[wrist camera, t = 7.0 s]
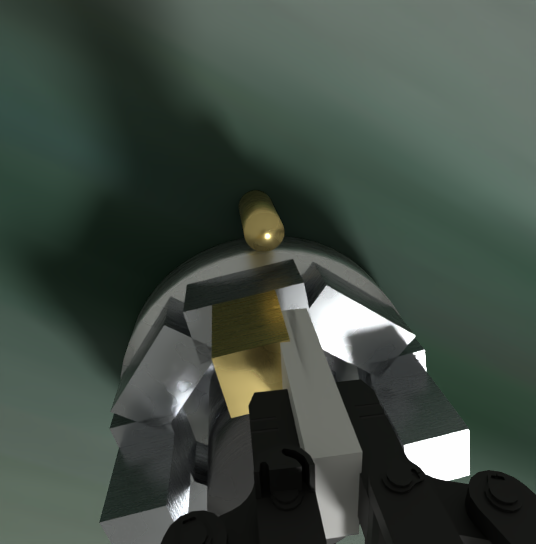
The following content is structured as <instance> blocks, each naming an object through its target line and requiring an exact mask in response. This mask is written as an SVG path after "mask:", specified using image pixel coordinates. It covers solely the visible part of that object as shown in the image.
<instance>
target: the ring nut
mask: <svg viewBox="0 0 536 544" xmlns="http://www.w3.org/2000/svg"><path fill="white" fill-rule="evenodd" d="M302 308H307V311H308V313H309V316H310V318H311V321H312V323H313V326H314V329H315V331H316V334H317V336H318V339H319V341H320V344H321V347H322V349H323V350H325V351H327V352H329V353H331V354H333V355H335V356H337V357H339V358H341V359H343V360H345V361H347V362H348V363H350V364H352V365H354V366H356V367H357V369H358V376H359V379H361V380H362V381H364V382H365V383H366V384H367V385H368V386H369V387H371V388H372V389H373V390H374V392H375V394H376V396H377V398H378V400H379V402H380V405H381V406H382V408H383V410H384V412H385V416H387V418H388V420H389V422H390V424H391V426H392V428H393V430H394V432H395V434H396V436H397V438H398V440H399V442H400V444H401V446H402V448H403V450H404V452H405V454H406V456H407V457H408V459H409V460H410V461H412V462H413V463H415V464H416V465H418V466H419V467H420V468H421V469H422V470H423V471H424V473H425V474H427V475H429V476H431V477H434V478H437V479H441V480H445V481H448V480H452V479H456V478H460V477H464V476H468V475H470V456H469V428H468V427H467V425H466V424H465V423H464V421H463V420H462V419H461V417H460V416H459V415H458V413H457V412H456V410H455V409H454V408H453V406H452V405H451V404H450V402H449V401H448V400H447V398H446V397H445V396H444V394H443V393H442V392H441V390H440V389H439V388H438V386H437V385H436V384H435V382H434V381H433V379H432V378H431V377H430V375H429V374H428V373H427V371H426V362H425V350H424V349H423V347H422V346H421V345H420V343H419V342H418V341H417V340H416V338H415V334H414V333H413V332H412V331H411V329H410V328H409V327H408V326H407V324H406V323H405V322H404V321H403V320H402V318H401V317H400V316H399V315H398V313H397V312H396V311H395V310H394V308H393V307H391V306H389V305H387V304H386V303H384V302H382V301H381V300H379V299H377V298H375V297H374V296H372V295H370V294H368V293H367V292H365V291H363V290H362V289H360V288H358V287H356V286H355V285H353V284H351V283H350V282H348V281H346V280H344V279H343V278H341V277H339V276H338V275H336V274H334V273H332V272H331V271H329V270H327V269H326V268H324V267H322V266H320V265H319V264H317V263H315V262H312V263H311V265H310V266H309V268H308V269H307V270H306V272H305V273H304V275H303V276H302V277H301V275H300V273H299V271H298V269H297V266H296V264H295V262H294V260H293V259H289V260H285V261H281V262H277V263H273V264H269V265H265V266H261V267H256V268H252V269H248V270H244V271H240V272H236V273H232V274H228V275H224V276H220V277H215V278H211V279H207V280H203V281H199V282H195V283H191V284H187V287H186V294H185V301H184V302H182V301H180V300H177V299H175V298H173V297H171V296H170V297H169V299H168V301H167V302H166V304H165V306H164V307H163V309H162V310H161V312H160V314H159V315H158V317H157V319H156V320H155V322H154V324H153V325H152V327H151V328H150V330H149V332H148V333H147V335H146V337H145V338H144V340H143V342H142V343H141V345H140V347H139V348H138V350H137V351H136V353H135V355H134V356H133V358H132V360H131V361H130V363H129V365H128V366H127V368H126V369H125V371H124V373H123V374H122V377H121V380H120V383H119V387H118V390H117V393H116V396H115V399H114V402H113V405H112V408H111V412H112V413H114V416H113V419H112V423H111V426H110V430H111V432H112V434H113V436H114V438H115V440H116V442H117V444H118V446H119V450H118V454H117V458H116V462H115V465H114V469H113V473H112V477H111V481H110V484H109V488H108V492H107V496H106V500H105V503H104V507H103V511H102V515H101V519H100V522H99V523H100V524H101V526H102V528H103V530H104V531H105V533H106V535H107V536H108V538H109V540H110V541H111V543H112V544H161V542H162V539H163V537H164V535H165V533H166V532H167V530H168V528H169V526H170V525H171V524H172V523H173V522H174V521H176V520H177V519H178V518H179V517H180V516H182V515H184V514H187V513H189V512H191V511H200V510H205V511H207V476H208V445H206V444H203V443H200V442H198V441H196V439H195V436H194V433H193V431H192V428H191V426H190V423H189V421H188V418H187V415H186V413H185V410H184V408H183V404H184V403H185V402H186V400H187V399H188V397H189V396H190V394H191V393H192V391H193V390H194V388H195V387H196V385H197V384H198V383H199V381H200V380H201V378H202V377H203V375H204V374H205V372H206V371H207V369H208V368H209V367H210V365H211V364H212V362H213V365H214V368H215V371H216V374H217V377H218V380H219V383H220V386H221V389H222V392H223V395H224V398H225V401H226V404H227V407H228V410H229V413H230V416H231V418H234V417H238V416H242V415H246V414H249V407H248V405H249V403H250V401H251V399H252V396H253V394H254V393H255V392H264V391H273V390H281V389H283V388H282V369H281V349H280V343H281V342H290V338H289V335H288V332H287V328H286V325H285V322H284V318H283V315H282V312H281V311H283V310H292V309H302ZM335 544H336V543H335Z"/></svg>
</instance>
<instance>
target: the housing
mask: <svg viewBox="0 0 536 544" xmlns="http://www.w3.org/2000/svg"><path fill="white" fill-rule="evenodd" d="M289 259H293V260H294V262H295V264H296V266H297V269H298V271H299V273H300V275H301V277H302V276H303V275H304V273H305V272H306V270H307V269H308V268H309V266H310V265H311V263H312V262H315V263H317V264H319V265H320V266H322V267H324V268H326V269H327V270H329V271H331V272H332V273H334V274H336V275H338V276H339V277H341V278H343V279H344V280H346V281H348V282H350V283H351V284H353V285H355V286H356V287H358V288H360V289H362V290H363V291H365V292H367V293H368V294H370V295H372V296H374V297H375V298H377V299H379V300H381V301H382V302H384V303H386V304H387V305H389V306H391V307H393V308H394V310H395V311H396V312H397V313H398V311H397V310H396V308H395V307H394V306H393V304H392V303H391V302H390V300H389V299H388V298H387V296H386V295H385V294H384V293H383V291H382V290H381V289H380V288H379V287H378V285H377V284H376V283H375V282H374V280H373V279H372V278H371V277H370V276H369V275H368V274H367V273H366V272H365V271H364V270H363V269H362V268H361V267H360V266H359V265H358V264H356V263H355V262H354V261H352V260H351V259H350V258H348V257H347V256H345V255H343V254H342V253H340V252H338V251H336V250H334V249H332V248H330V247H327V246H325V245H322V244H319V243H317V242H314V241H310V240H305V239H301V238H297V237H287V236H284V237H283V240H282V242H281V243H280V244H279V246H278V247H276V248H275V249H273V250H271V251H267V252H260V251H256V250H254V249H252V248H251V247H250V246H249V245H248V244H247V242H246V240H245V238H242V239H237V240H233V241H230V242H226V243H223V244H219V245H217V246H214V247H212V248H210V249H207V250H205V251H203V252H200V253H199V254H197V255H195V256H194V257H192V258H190V259H189V260H187V261H185V262H184V263H182V264H181V265H180V266H178V267H177V268H176V269H175V270H173V271H172V272H171V273H169V274H168V275H167V276H166V277H165V279H164V280H163V281H162V282H161V283H160V284H159V285H158V286H157V287H156V288H155V289H154V291H153V292H152V293H151V295H150V296H149V298H148V299H147V300H146V302H145V304H144V306H143V308H142V310H141V311H140V313H139V315H138V318H137V321H136V324H135V327H134V329H133V332H132V335H131V338H130V341H129V344H128V347H127V350H126V353H125V356H124V360H123V366H122V372H121V377H122V374H123V373H124V371H125V369H126V368H127V366H128V365H129V363H130V361H131V360H132V358H133V356H134V355H135V353H136V351H137V350H138V348H139V347H140V345H141V343H142V342H143V340H144V338H145V337H146V335H147V333H148V332H149V330H150V328H151V327H152V325H153V324H154V322H155V320H156V319H157V317H158V315H159V314H160V312H161V310H162V309H163V307H164V306H165V304H166V302H167V301H168V299H169V297H170V296H171V297H173V298H175V299H177V300H180V301H182V302H184V301H185V294H186V287H187V284H191V283H195V282H199V281H203V280H207V279H211V278H215V277H220V276H224V275H228V274H232V273H236V272H240V271H244V270H248V269H252V268H256V267H261V266H265V265H269V264H273V263H277V262H281V261H285V260H289ZM398 315H399V313H398ZM399 316H400V315H399ZM323 352H324V354H325V357H326V359H327V362H328V365H329V367H330V370H331V372H332V375H333V377H334V380H335V382H341V381H350V380H358V379H359V376H358V369H357V367H356V366H354V365H352V364H350V363H348V362H347V361H345V360H343V359H341V358H339V357H337V356H335V355H333V354H331V353H329V352H327V351H325V350H323ZM183 408H184V410H185V413H186V415H187V418H188V421H189V423H190V426H191V428H192V431H193V433H194V436H195V439H196V441H198V442H200V443H203V444H206V445H208V476H207V511H208V512H211V513H214V514H216V515H217V516H221V515H223V514H225V513H227V512H229V511H231V510H233V509H235V508H236V507H238V506H240V505H241V504H242V503H243V502H244V501H245V500H246V499H247V498H248V496H249V495H250V493H251V492H252V489H253V486H254V473H253V472H254V465H253V453H252V442H251V430H250V419H249V414H246V415H242V416H238V417H234V418H231V416H230V413H229V410H228V407H227V404H226V401H225V398H224V395H223V392H222V389H221V386H220V383H219V380H218V377H217V374H216V371H215V368H214V365H213V362H212V364H211V365H210V367H209V368H208V369H207V371H206V372H205V374H204V375H203V377H202V378H201V380H200V381H199V383H198V384H197V385H196V387H195V388H194V390H193V391H192V393H191V394H190V396H189V397H188V399H187V400H186V402H185V403H184V404H183ZM359 524H360V521H359ZM344 537H346V536H342V537H337V538H330V539H326V541H327V544H335V543H336V542H338V541H340V540H341V539H343V538H344Z"/></svg>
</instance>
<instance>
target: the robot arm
mask: <svg viewBox="0 0 536 544" xmlns="http://www.w3.org/2000/svg"><path fill="white" fill-rule="evenodd" d="M281 312H282V315H283V318H284V322H285V325H286V328H287V332H288V335H289V338H290V342H281V343H280V349H281V369H282V388H283V389H281V390H273V391H264V392H255V393H254V394H253V396H252V399H251V401H250V403H249V405H248V407H249V419H250V430H251V442H252V453H253V465H254V472H253V473H254V486H253V489H252V492H251V493H250V495H249V496H248V498H247V499H246V500H245V501H244V502H243V503H242V504H241V505H240V506H238V507H236V508H235V509H233V510H231V511H229V512H227V513H225V514H223V515H221V516H217V515H216V514H214V513H211V512H208V511H205V510H200V511H191V512H189V513H187V514H184V515H182V516H180V517H179V518H178V519H177V520H176V521H174V522H173V523H172V524H171V525H170V526H169V528H168V530H167V532H166V533H165V535H164V537H163V539H162V542H161V544H327V541H326V539H330V538H337V537H342V536H349V535H356V534H359V521H360V525H361V528H362V531H363V534H364V537H365V544H536V495H535V494H534V493H533V492H532V491H531V490H530V489H529V488H528V487H527V486H525V485H524V484H523V483H521V482H520V481H518V480H517V479H516V478H514V477H512V476H510V475H507V474H505V473H502V472H497V471H490V470H487V471H482V472H478V473H476V474H475V475H474V476H473V477H471V479H470V482H469V484H464V483H458V482H451V481H445V480H441V479H437V478H434V477H431V476H429V475H427V474H425V473H424V471H423V470H422V469H421V468H420V467H419V466H418V465H416V464H415V463H413V462H412V461H410V460H409V459H408V457H407V456H406V454H405V452H404V450H403V448H402V446H401V444H400V442H399V440H398V438H397V436H396V434H395V432H394V430H393V428H392V426H391V424H390V422H389V420H388V418H387V416H385V412H384V410H383V408H382V406H381V405H380V402H379V400H378V398H377V396H376V394H375V392H374V390H373V389H372V388H371V387H369V386H368V385H367V384H366V383H365V382H364V381H362V380H361V379H358V380H350V381H341V382H335V380H334V377H333V375H332V372H331V370H330V367H329V365H328V362H327V359H326V357H325V354H324V352H323V349H322V347H321V344H320V341H319V339H318V336H317V334H316V331H315V329H314V326H313V323H312V321H311V318H310V316H309V313H308V311H307V308H302V309H292V310H283V311H281Z"/></svg>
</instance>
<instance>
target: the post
mask: <svg viewBox="0 0 536 544" xmlns="http://www.w3.org/2000/svg"><path fill="white" fill-rule="evenodd" d="M239 212H240V217H241V222H242V227H243V232H244V237H245V240H246V242H247V244H248V245H249V246H250V247H251V248H252V249H254V250H256V251H260V252H267V251H271V250H273V249H275V248H276V247H278V246H279V244H280V243H281V242H282V240H283V237H284V227H283V224H282V222H281V220H280V218H279V216H278V214H277V212H276V210H275V208H274V206H273V204H272V202H271V200H270V198H269V196H268V195H267V194H266V193H264V192H262V191H259V190H252V191H249V192H247V193H246V194H244V195H243V196H242V198H241V200H240V202H239Z"/></svg>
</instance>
